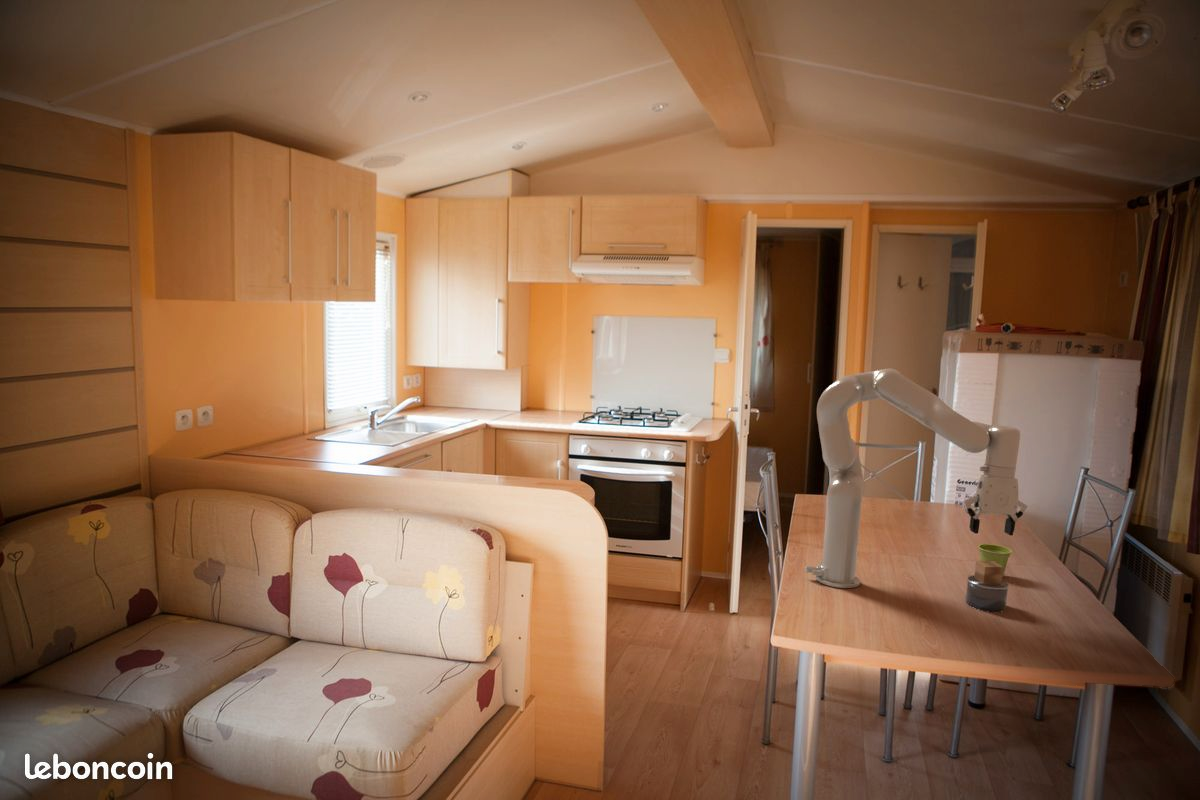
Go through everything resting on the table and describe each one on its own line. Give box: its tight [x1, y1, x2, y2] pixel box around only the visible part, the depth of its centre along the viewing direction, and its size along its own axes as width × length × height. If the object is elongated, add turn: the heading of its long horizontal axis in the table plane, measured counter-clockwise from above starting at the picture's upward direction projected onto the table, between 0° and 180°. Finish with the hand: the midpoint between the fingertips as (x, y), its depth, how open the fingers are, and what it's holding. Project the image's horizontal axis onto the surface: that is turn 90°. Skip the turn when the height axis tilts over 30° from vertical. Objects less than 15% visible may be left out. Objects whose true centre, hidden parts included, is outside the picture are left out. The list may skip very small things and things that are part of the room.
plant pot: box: [977, 543, 1013, 578], centre depth 249 cm, size 9×9×9 cm
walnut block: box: [974, 560, 1003, 585], centre depth 222 cm, size 5×5×5 cm
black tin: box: [965, 574, 1009, 613], centre depth 223 cm, size 10×10×7 cm
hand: (991, 533), depth 221 cm, fingers open, 9 cm apart
